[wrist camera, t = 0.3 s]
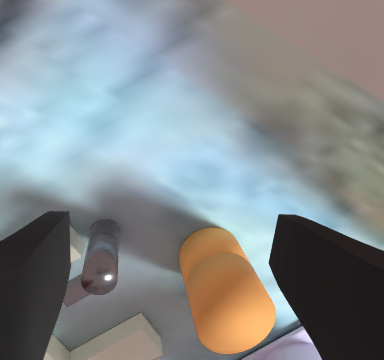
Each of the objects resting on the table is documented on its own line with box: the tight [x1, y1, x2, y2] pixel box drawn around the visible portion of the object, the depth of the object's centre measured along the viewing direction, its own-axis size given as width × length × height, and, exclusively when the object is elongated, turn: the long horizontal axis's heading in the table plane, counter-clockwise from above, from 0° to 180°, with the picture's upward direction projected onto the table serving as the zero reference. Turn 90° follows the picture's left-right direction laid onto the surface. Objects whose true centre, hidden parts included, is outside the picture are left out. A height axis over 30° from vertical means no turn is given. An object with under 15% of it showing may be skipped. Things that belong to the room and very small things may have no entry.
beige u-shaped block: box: [43, 225, 163, 360], centre depth 22 cm, size 12×9×2 cm
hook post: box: [63, 220, 119, 307], centre depth 19 cm, size 2×3×5 cm, turn 117°
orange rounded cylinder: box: [179, 227, 276, 354], centre depth 21 cm, size 4×4×6 cm
